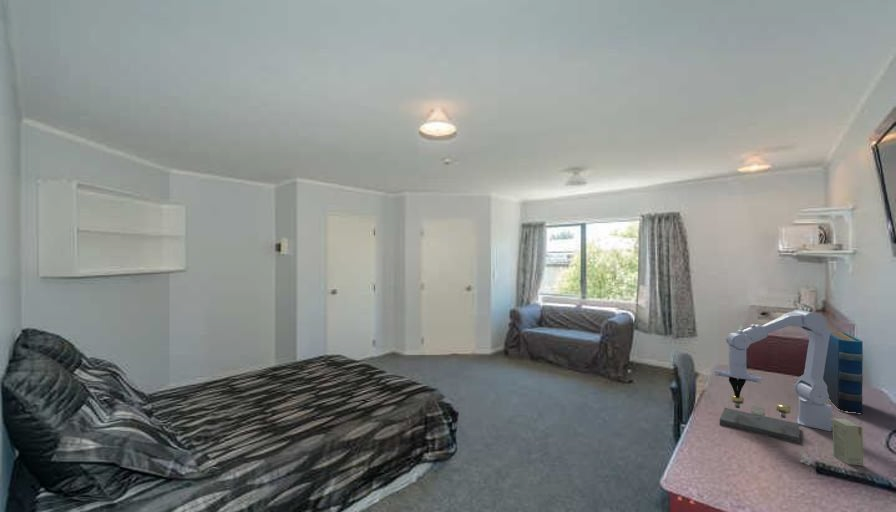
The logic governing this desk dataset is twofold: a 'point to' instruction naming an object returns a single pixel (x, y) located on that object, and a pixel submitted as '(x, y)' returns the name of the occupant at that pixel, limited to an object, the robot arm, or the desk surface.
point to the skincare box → (847, 441)
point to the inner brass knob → (783, 409)
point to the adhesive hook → (806, 460)
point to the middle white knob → (758, 412)
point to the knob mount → (760, 425)
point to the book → (844, 371)
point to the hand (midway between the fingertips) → (737, 396)
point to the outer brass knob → (737, 401)
